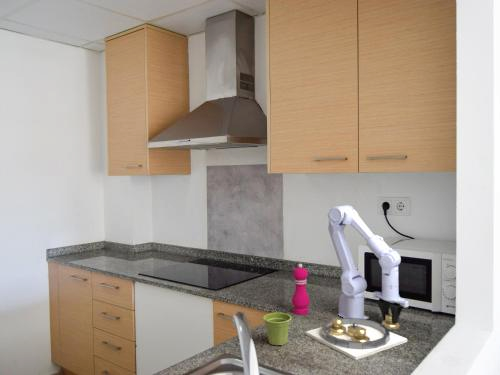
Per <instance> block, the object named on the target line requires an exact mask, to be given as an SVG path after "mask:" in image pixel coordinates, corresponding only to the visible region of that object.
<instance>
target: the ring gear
mask: <svg viewBox="0 0 500 375" xmlns="http://www.w3.org/2000/svg"><path fill="white" fill-rule="evenodd" d="M340 318H341V319H342V325H345V324H353V323H357V325H363V326H368V327H372V328H374V329H377V330H379V331H381V332H382V333H383V334H384V336H383V337H382V338H380V339H377V340H374V341H364V342H359V341H348V340H344V339H340V338H336V337H334V336H332V335H330V334H329V333H328V332H327V331H326V330H328V329H329V326H331V325H332V319H330V320H327V321H326V322H325V323H323V324H322V326H321V327H322V336H323V337H324V339H325V340H326V341H328V342H330V343H332V344H334V345H337V346H341V347H345V348H350V349H373V348H378V347H381V346H384V345H386V344H387V343H388V342H389V341H390V333H389V332H390V330H389V329H388V328H386V327H385V326H384V325H382V323H379V322H377V321H374V320H370V319H361V318H342V317H340Z"/></svg>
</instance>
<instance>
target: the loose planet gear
mask: <svg viewBox="0 0 500 375" xmlns="http://www.w3.org/2000/svg"><path fill="white" fill-rule="evenodd" d="M381 324H382V325H384V326H385V327H386V328H388V329H389V331H396V330H399V329H400V322H399V321H398V323H396V324H393V323H392V313H391V312H389V313H386V314H385V320H382V321H381Z"/></svg>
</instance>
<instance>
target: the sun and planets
mask: <svg viewBox="0 0 500 375" xmlns="http://www.w3.org/2000/svg"><path fill="white" fill-rule="evenodd" d="M341 318H342V317H333V318H331V320H332V325H331V326H329V333H330V334H332V335H338V336H339V335H344V334H346V327H344V326H342V319H341ZM348 336H349V337H351V341H359V342H364V341H370V338H369V337H368V336H366V329H365V328H362V327H360V326H357V323H353V325H351V326H348Z"/></svg>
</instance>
